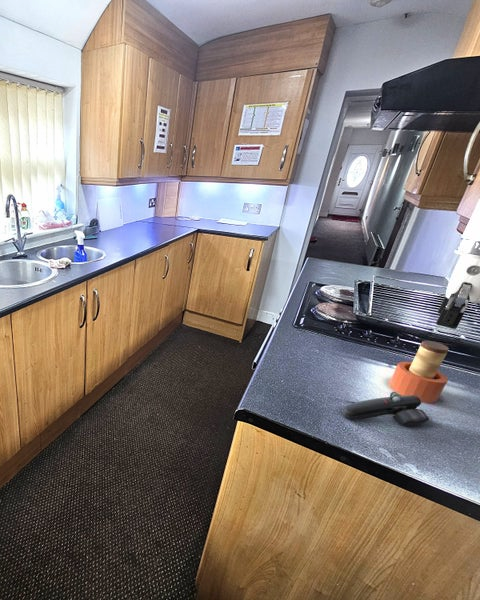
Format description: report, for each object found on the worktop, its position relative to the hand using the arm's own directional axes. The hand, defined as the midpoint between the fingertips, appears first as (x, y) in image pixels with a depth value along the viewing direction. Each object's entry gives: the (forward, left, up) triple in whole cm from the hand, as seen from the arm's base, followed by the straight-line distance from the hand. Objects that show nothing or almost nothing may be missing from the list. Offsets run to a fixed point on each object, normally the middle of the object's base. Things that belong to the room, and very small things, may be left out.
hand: (446, 320), depth 77 cm
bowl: (0, 0, -21) cm, 21 cm away
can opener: (+12, +14, -21) cm, 28 cm away
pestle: (0, 0, -21) cm, 21 cm away
